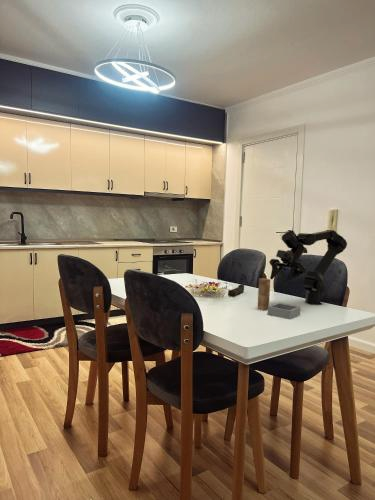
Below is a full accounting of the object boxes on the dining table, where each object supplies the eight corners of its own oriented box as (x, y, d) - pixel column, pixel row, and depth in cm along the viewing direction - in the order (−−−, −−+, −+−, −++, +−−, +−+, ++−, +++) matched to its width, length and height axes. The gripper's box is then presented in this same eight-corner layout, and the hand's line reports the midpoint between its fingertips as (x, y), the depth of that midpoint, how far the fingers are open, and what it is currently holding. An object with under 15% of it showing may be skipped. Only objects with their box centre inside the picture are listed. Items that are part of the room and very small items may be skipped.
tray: (278, 310, 171) (278, 302, 170) (300, 314, 164) (300, 306, 164) (267, 314, 163) (267, 306, 162) (290, 319, 156) (290, 310, 156)
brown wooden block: (263, 308, 175) (264, 278, 174) (268, 309, 172) (270, 279, 170) (257, 308, 173) (259, 278, 172) (262, 310, 170) (264, 279, 169)
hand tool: (234, 297, 197) (235, 289, 196) (227, 296, 199) (228, 288, 198) (248, 292, 213) (248, 284, 212) (241, 291, 215) (241, 283, 214)
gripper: (271, 242, 183) (254, 267, 179) (301, 245, 167) (284, 272, 163) (283, 256, 188) (267, 281, 184) (313, 260, 173) (296, 287, 168)
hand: (277, 280), depth 175 cm, fingers open, 9 cm apart
